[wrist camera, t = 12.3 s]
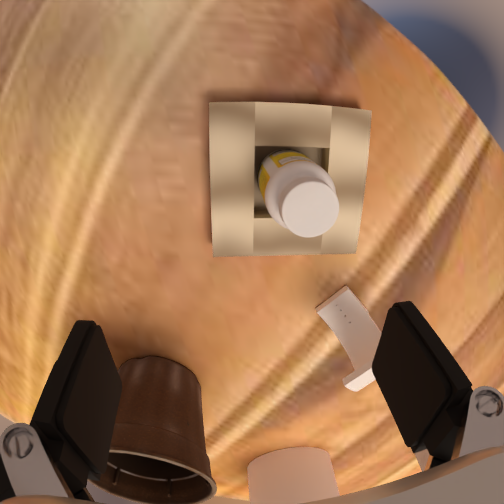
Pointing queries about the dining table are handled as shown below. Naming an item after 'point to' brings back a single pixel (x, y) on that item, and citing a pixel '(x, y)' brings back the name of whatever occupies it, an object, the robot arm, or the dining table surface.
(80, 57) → the dining table surface
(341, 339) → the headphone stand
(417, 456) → the skincare box
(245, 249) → the socket block
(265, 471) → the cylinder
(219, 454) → the dining table surface
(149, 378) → the plant pot
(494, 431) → the robot arm
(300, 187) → the supplement bottle
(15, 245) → the dining table surface
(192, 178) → the dining table surface
